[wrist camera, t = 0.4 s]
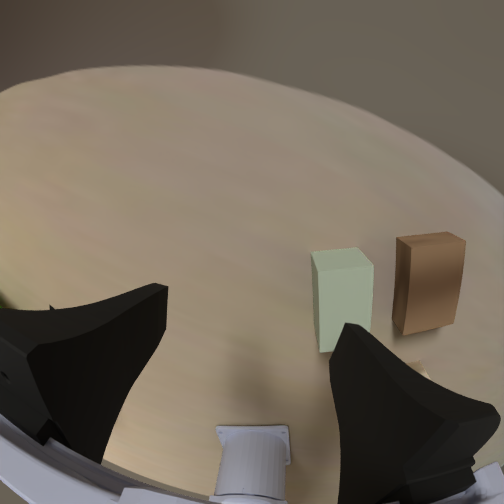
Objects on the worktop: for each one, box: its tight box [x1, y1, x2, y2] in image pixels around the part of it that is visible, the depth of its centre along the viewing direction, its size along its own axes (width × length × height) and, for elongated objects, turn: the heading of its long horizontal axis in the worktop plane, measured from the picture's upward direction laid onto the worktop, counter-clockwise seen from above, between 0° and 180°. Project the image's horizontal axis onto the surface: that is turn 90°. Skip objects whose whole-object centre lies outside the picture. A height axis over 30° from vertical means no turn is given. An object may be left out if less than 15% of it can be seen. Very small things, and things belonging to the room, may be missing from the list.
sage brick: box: [311, 247, 374, 353], centre depth 19 cm, size 6×4×4 cm, turn 7°
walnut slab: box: [392, 232, 466, 335], centre depth 18 cm, size 7×5×3 cm
